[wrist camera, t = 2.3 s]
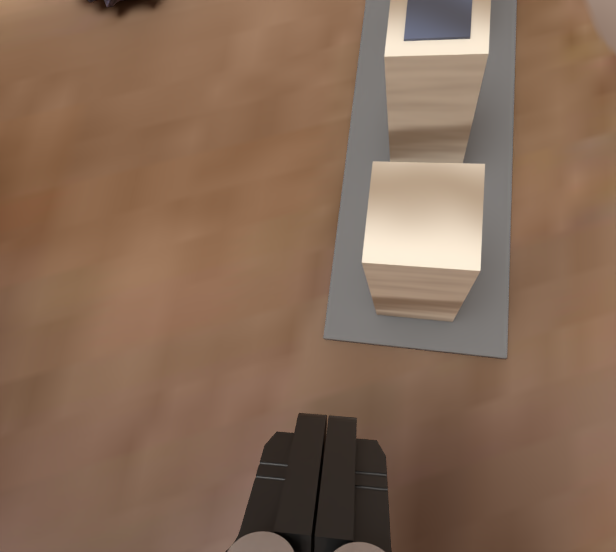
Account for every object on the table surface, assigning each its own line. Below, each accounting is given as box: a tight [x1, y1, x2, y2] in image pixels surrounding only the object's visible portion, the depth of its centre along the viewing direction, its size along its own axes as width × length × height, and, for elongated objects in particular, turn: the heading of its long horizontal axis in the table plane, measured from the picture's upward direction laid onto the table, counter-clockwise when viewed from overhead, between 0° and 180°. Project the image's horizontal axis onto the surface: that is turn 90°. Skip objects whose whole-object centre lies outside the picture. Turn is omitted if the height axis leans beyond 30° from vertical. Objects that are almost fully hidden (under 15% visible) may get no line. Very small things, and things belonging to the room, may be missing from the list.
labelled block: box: [384, 0, 491, 163], centre depth 29 cm, size 5×5×12 cm
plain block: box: [362, 161, 485, 322], centre depth 26 cm, size 5×5×12 cm
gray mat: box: [323, 0, 517, 359], centre depth 35 cm, size 31×12×1 cm, turn 172°
